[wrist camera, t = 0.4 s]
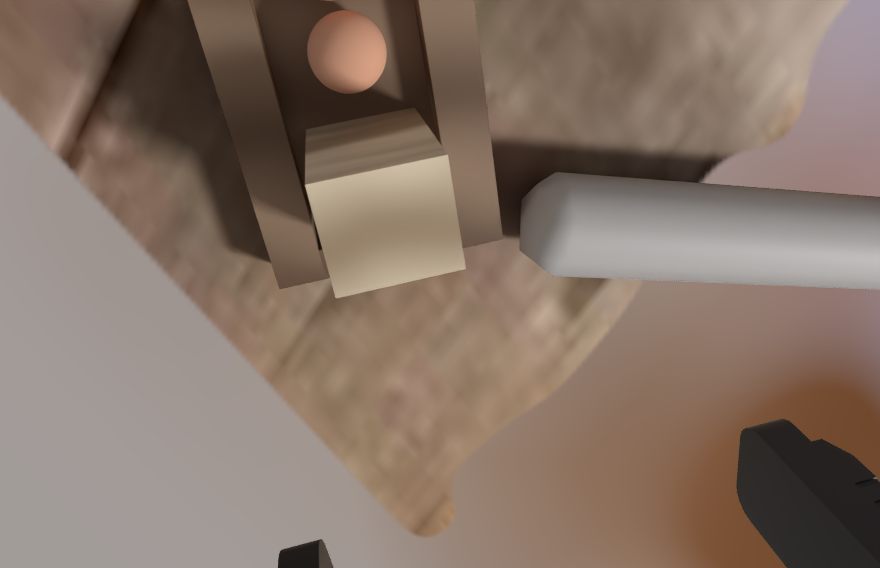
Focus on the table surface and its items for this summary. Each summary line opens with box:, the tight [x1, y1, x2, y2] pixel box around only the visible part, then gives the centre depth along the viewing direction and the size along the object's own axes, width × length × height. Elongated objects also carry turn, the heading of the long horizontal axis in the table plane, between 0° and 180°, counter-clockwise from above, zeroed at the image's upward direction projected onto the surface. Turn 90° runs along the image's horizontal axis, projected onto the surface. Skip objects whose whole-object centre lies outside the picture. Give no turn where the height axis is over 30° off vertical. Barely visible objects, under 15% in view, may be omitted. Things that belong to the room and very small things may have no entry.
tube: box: [520, 172, 880, 289], centre depth 34 cm, size 5×5×25 cm
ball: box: [307, 10, 387, 94], centre depth 26 cm, size 3×3×3 cm
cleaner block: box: [305, 107, 466, 298], centre depth 27 cm, size 4×5×8 cm
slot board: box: [187, 0, 503, 289], centre depth 28 cm, size 16×11×2 cm
